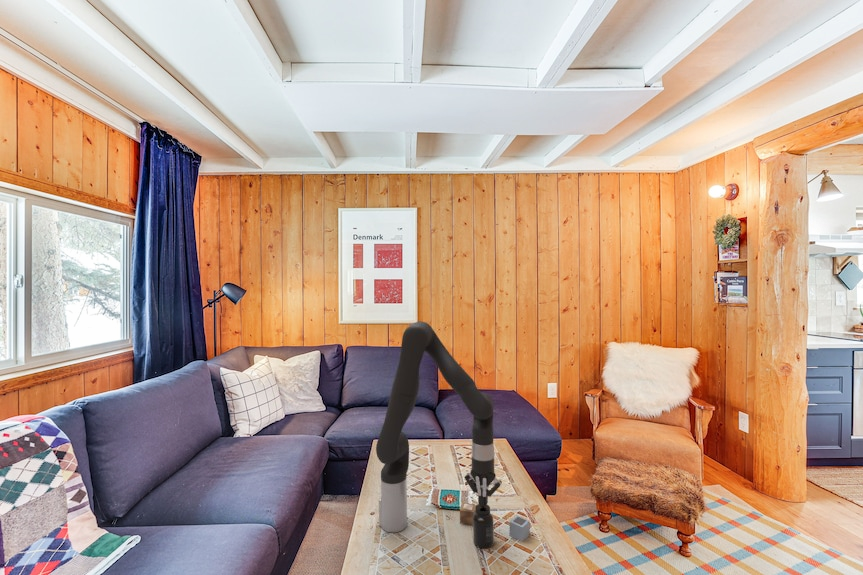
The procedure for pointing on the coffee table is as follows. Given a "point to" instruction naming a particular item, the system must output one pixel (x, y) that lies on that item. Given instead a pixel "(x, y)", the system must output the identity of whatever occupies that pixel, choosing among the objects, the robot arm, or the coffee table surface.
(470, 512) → the walnut block
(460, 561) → the coffee table surface
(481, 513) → the supplement bottle
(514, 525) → the slate-blue block
